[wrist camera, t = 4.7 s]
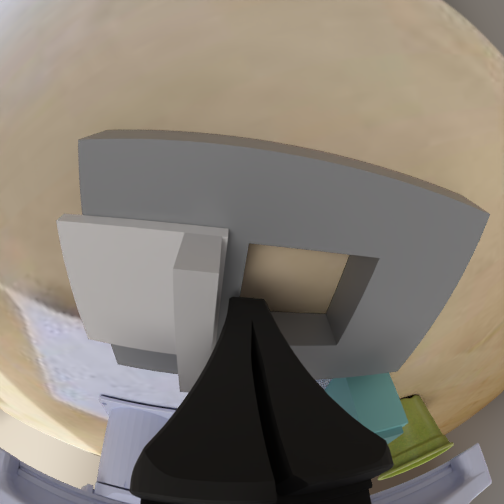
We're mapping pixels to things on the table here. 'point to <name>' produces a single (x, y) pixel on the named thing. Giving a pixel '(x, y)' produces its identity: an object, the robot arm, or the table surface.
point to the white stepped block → (147, 285)
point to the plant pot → (416, 439)
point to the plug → (371, 403)
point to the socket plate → (297, 234)
